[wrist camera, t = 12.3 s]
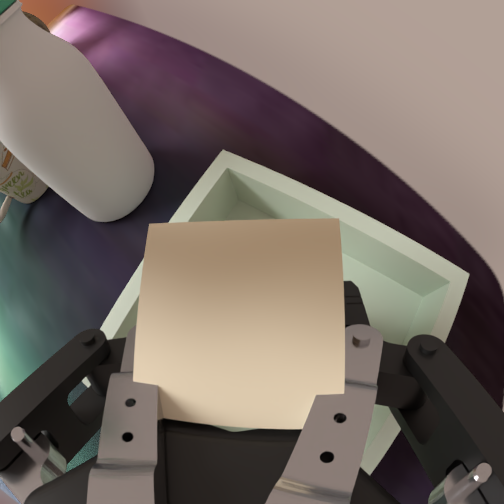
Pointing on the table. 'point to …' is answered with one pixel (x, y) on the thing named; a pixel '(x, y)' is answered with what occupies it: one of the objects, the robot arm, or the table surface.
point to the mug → (17, 181)
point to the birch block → (242, 320)
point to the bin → (353, 258)
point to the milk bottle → (67, 122)
